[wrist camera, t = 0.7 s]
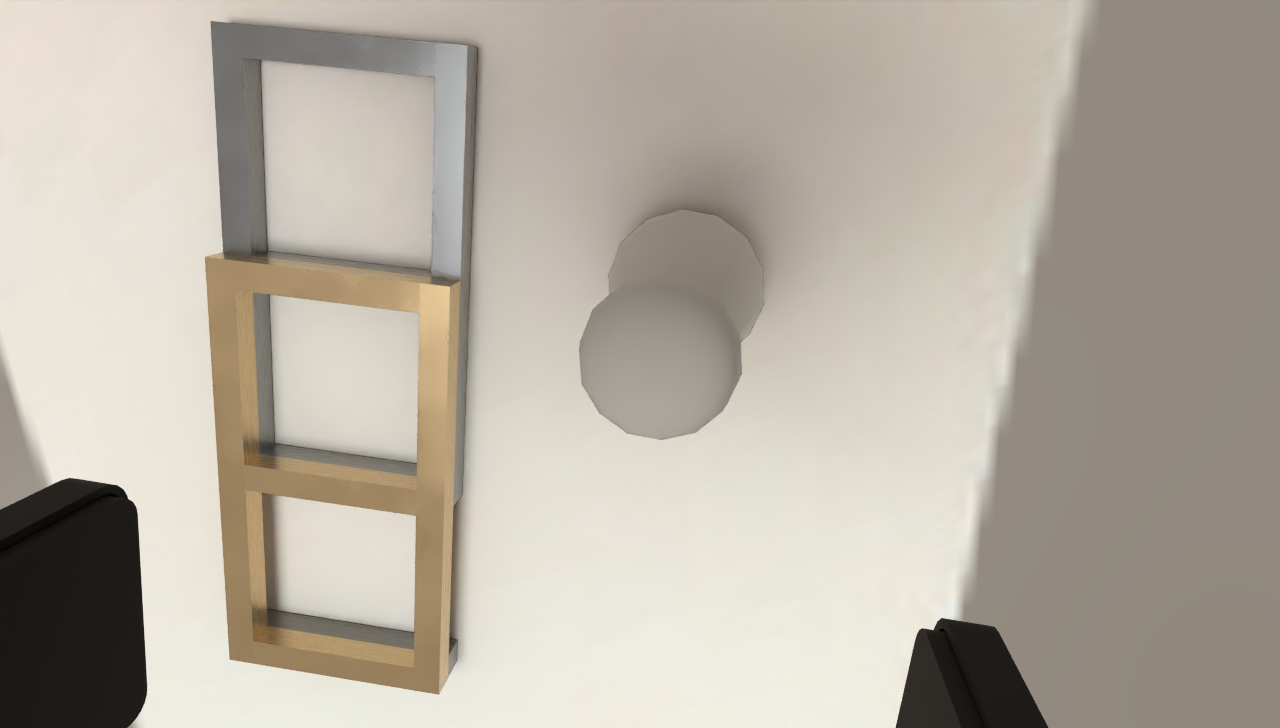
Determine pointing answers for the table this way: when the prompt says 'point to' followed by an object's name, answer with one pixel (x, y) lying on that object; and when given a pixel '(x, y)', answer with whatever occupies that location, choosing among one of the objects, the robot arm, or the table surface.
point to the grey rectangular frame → (247, 235)
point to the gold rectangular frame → (334, 475)
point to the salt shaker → (672, 325)
